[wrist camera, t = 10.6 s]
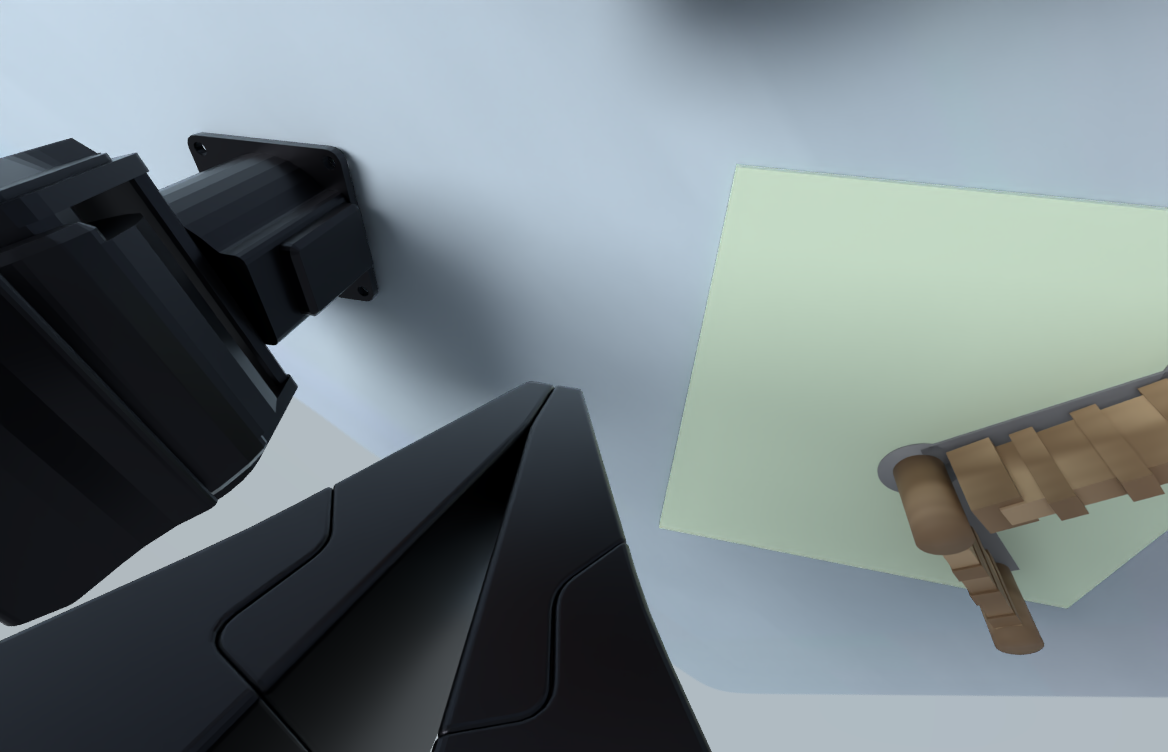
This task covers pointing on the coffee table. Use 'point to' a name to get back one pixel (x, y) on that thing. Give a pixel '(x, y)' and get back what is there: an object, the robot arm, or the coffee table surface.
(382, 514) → the robot arm
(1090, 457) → the fence swing panel
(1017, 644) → the fence fixed panel
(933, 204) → the card
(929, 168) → the coffee table surface
